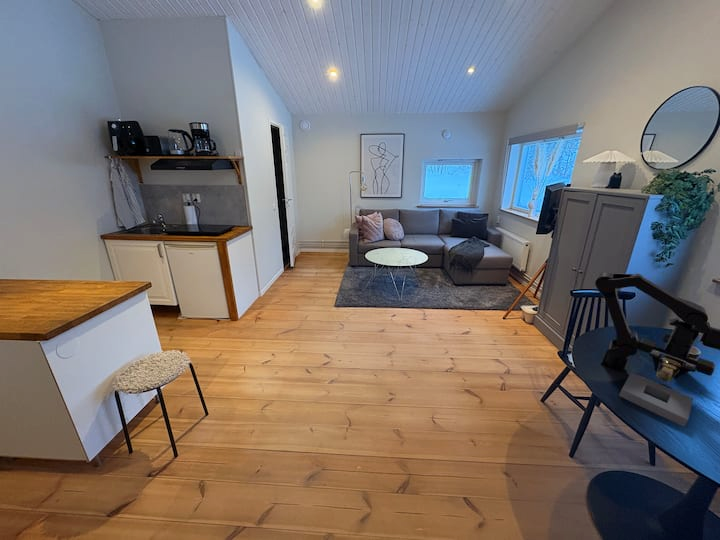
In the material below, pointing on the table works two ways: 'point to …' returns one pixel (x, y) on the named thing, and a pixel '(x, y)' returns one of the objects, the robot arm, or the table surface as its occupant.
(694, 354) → the coffee mug
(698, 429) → the table surface
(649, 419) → the table surface
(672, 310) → the robot arm
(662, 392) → the flange socket
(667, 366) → the brass fitting
